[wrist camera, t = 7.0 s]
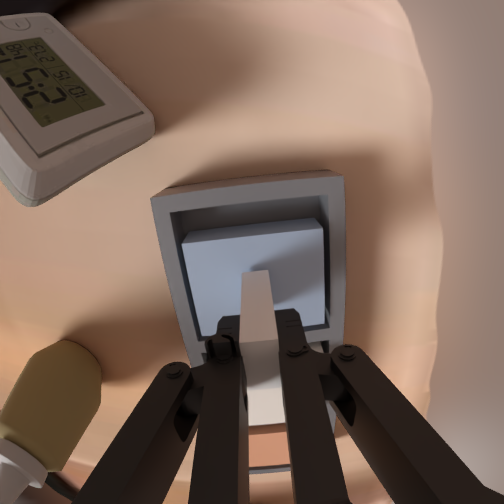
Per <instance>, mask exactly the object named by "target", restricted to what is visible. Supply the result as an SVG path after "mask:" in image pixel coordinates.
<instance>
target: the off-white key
mask: <svg viewBox="0 0 504 504" xmlns="http://www.w3.org/2000/svg"><path fill="white" fill-rule="evenodd" d="M308 345H309V346H310V347H311V349H313V350H314V351H317V352H321V353H324V352H323V349H322V346H321V343H320V341H317V342H310V343H308ZM247 395H248V414H249V426H251V425H264V424H275V423H284V422H285V415H284V407H283V398H282V387H281V388H271V389H261V390H249V391H248V389H247Z"/></svg>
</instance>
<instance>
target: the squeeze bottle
mask: <svg viewBox="0 0 504 504" xmlns="http://www.w3.org/2000/svg"><path fill="white" fill-rule="evenodd" d="M101 383H102V372H101V367H100V365H99V364H98V362H97V360H96V359H95V357H94V356H93V355H92V354H91V353H90V352H89V351H88V350H87V349H85V348H83V347H82V346H80V345H79V344H77V343H74V342H71V341H68V340H65V341H58V342H56V343H54V344H52V345H50V346H48V347H46V348H44V349H42V350H40V351H38V352H36V353H35V354H34V355H33V356H32V357H31V358H30V359H29V361H28V362H27V364H26V366H25V368H24V369H23V371H22V373H21V375H20V376H19V378H18V380H17V382H16V384H15V385H14V387H13V389H12V391H11V393H10V395H9V397H8V399H7V400H6V402H5V404H4V406H3V408H2V410H1V412H0V437H1V439H0V464H1V465H0V504H12V503H13V502H14V501H15V500H16V499H17V498H18V496H19V495H20V494H21V493H22V492H23V490H24V489H25V488H26V487H27V485H28V484H29V485H31V486H34V487H36V488H42V486H43V484H44V482H45V479H46V477H47V471H48V472H56V471H62V469H63V467H64V465H65V464H66V462H67V460H68V459H69V457H70V455H71V454H72V452H73V450H74V448H75V447H76V445H77V443H78V442H79V440H80V438H81V437H82V435H83V433H84V432H85V430H86V428H87V427H88V425H89V424H90V422H91V420H92V419H93V417H94V415H95V414H96V412H97V410H98V408H99V406H100V403H101Z"/></svg>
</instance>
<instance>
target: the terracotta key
mask: <svg viewBox="0 0 504 504" xmlns="http://www.w3.org/2000/svg"><path fill="white" fill-rule="evenodd" d="M281 464H290V460H289V451H288V441H287V433H286V424H285V423H279V424H268V425H256V426H249V467H256V466H270V465H281Z"/></svg>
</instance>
